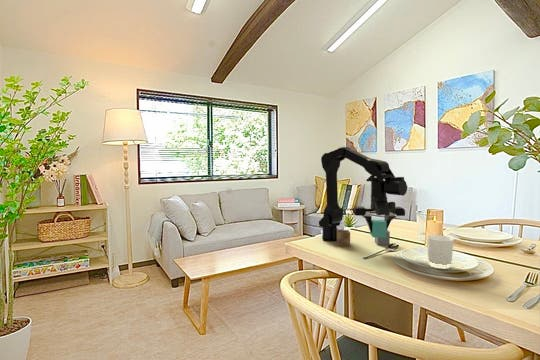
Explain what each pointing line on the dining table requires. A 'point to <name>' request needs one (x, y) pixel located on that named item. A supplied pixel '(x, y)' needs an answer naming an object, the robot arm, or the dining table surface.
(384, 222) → the teal block
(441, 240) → the white cup
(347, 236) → the walnut block
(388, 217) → the robot arm
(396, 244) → the dining table surface
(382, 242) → the grey block
